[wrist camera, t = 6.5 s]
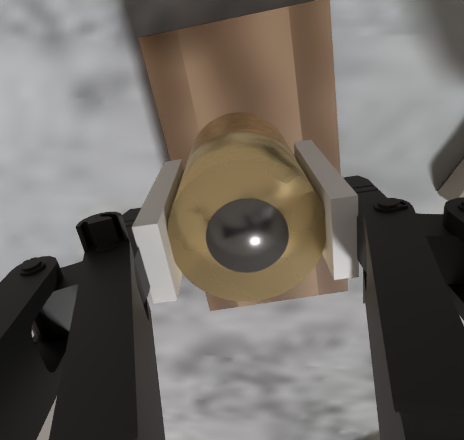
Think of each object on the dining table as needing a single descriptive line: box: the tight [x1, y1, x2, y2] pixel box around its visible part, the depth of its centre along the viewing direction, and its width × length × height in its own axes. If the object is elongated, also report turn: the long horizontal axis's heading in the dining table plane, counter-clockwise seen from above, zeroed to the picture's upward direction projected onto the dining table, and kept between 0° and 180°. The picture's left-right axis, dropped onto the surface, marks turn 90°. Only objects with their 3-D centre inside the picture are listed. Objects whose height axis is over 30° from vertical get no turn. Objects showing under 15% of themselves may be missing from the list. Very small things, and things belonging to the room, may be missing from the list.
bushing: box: [167, 112, 326, 302], centre depth 16 cm, size 5×5×8 cm
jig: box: [138, 0, 348, 311], centre depth 30 cm, size 12×22×4 cm, turn 10°
